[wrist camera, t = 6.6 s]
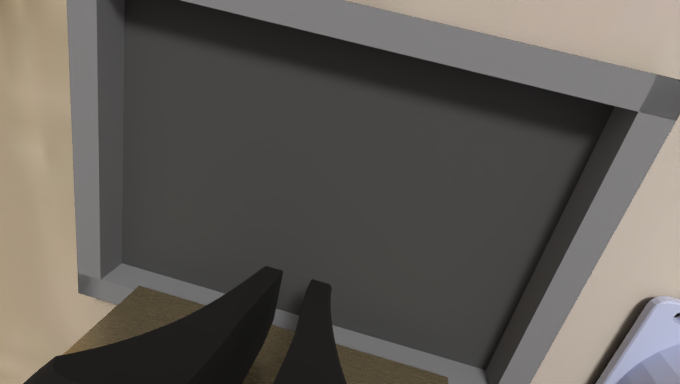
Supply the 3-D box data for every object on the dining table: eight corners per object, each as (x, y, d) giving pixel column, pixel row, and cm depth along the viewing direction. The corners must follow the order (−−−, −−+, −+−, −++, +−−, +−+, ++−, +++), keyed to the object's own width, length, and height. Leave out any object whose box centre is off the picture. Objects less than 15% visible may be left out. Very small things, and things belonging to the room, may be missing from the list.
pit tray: (662, 79, 12) (696, 83, 10) (499, 390, 17) (508, 422, 15) (100, -55, 13) (64, -67, 12) (104, 273, 18) (78, 292, 16)
